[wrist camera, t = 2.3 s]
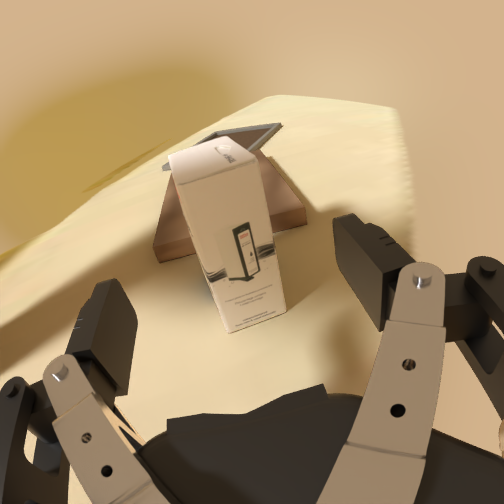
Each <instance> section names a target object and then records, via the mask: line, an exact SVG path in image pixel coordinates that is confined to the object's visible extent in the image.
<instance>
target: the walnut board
mask: <svg viewBox="0 0 504 504" xmlns="http://www.w3.org/2000/svg"><path fill="white" fill-rule="evenodd" d="M250 153H252V154H254V155H255V156H256V158H257V160H258V163H259V168H260V173H261V178H262V183H263V188H264V193H265V198H266V202H267V207H268V212H269V217H270V222H271V227H272V233H274V232H278V231H282V230H286V229H290V228H294V227H298V226H301V225H305V224H307V220H306V212H305V207H304V205H303V204H302V203H301V201H300V200H299V199H298V197H297V196H296V195H295V194H294V192H293V191H292V190H291V188H290V187H289V186H288V184H287V183H286V182H285V181H284V179H283V178H282V177H281V175H280V174H279V173H278V172H277V170H276V169H275V168H274V167H273V165H272V164H271V163H270V162H269V160H268V159H267V158H266V157H265V155H264V154H263V153H262V152H261V150H256V151H251V152H250ZM153 249H154V251H155V254H156V256H157V258H158V261H159V263H161V262H164V261H168V260H172V259H176V258H179V257H183V256H187V255H190V254H194V253H196V251H195V248H194V245H193V242H192V239H191V236H190V232H189V229H188V226H187V223H186V220H185V217H184V214H183V211H182V207H181V204H180V200H179V197H178V194H177V190H176V187H175V183H174V179H173V176H172V173H171V176H170V179H169V183H168V187H167V190H166V194H165V198H164V202H163V206H162V210H161V214H160V218H159V222H158V226H157V231H156V235H155V239H154V244H153Z"/></svg>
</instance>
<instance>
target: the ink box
mask: <svg viewBox="0 0 504 504" xmlns="http://www.w3.org/2000/svg"><path fill="white" fill-rule="evenodd" d="M168 159H169V164H170V168H171V172H172V176H173V179H174V183H175V187H176V190H177V194H178V197H179V200H180V204H181V207H182V211H183V214H184V217H185V220H186V223H187V226H188V229H189V232H190V236H191V239H192V242H193V245H194V248H195V251H196V253H197V256H198V259H199V262H200V264H201V267H202V270H203V273H204V275H205V278H206V281H207V283H208V286H209V288H210V291H211V293H212V296H213V299H214V301H215V304H216V306H217V309H218V311H219V314H220V316H221V319H222V321H223V324H224V326H225V329H226V331H227V332H228V333H232V332H235V331H237V330H240V329H243V328H245V327H248V326H251V325H254V324H256V323H259V322H262V321H264V320H267V319H270V318H272V317H275V316H277V315H280V314H282V313H285V312H286V310H287V309H286V303H285V298H284V293H283V288H282V282H281V277H280V271H279V265H278V260H277V255H276V249H275V244H274V238H273V233H272V227H271V222H270V217H269V212H268V207H267V202H266V198H265V193H264V188H263V183H262V178H261V173H260V168H259V163H258V160H257V158H256V156H255V155H254V154H252V153H250V152H249V151H248V150H246V149H245V148H243V147H242V146H240V145H239V144H237V143H236V142H235V141H233V140H232V139H230V138H229V137H228V136H223V137H220V138H216V139H213V140H210V141H207V142H204V143H201V144H198V145H195V146H193V147H190V148H187V149H184V150H181V151H178V152H176V153H173V154H170V155H169V156H168Z"/></svg>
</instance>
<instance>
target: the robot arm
mask: <svg viewBox="0 0 504 504" xmlns="http://www.w3.org/2000/svg"><path fill="white" fill-rule="evenodd" d="M333 234H334V243H335V254H336V260H337V264H338V267H339V269H340V271H341V273H342V274H343V276H344V277H345V279H346V280H347V282H348V283H349V285H350V287H351V288H352V290H353V291H354V293H355V294H356V296H357V297H358V299H359V300H360V302H361V304H362V305H363V307H364V308H365V310H366V311H367V313H368V315H369V316H370V318H371V319H372V321H373V323H374V324H375V326H376V327H377V329H378V331H379V332H381V331H383V330H384V331H383V335H382V339H381V342H380V346H379V350H378V353H377V356H376V360H375V363H374V366H373V370H372V373H371V376H370V379H369V382H368V385H367V388H366V391H365V394H364V397H362V396H357V395H352V394H340V393H333V394H327V392H326V390H325V387H324V384H320V385H316V386H313V387H310V388H307V389H303V390H300V391H296V392H293V393H289V394H286V395H283V396H281V397H279V398H277V399H275V400H273V401H271V402H269V403H267V404H265V405H263V406H261V407H259V408H257V409H255V410H253V411H250V412H248V413H246V414H206V413H202V414H197V415H191V416H185V417H179V418H172V419H167V431H165V432H163V433H161V434H159V435H157V436H155V437H154V438H152V439H151V440H149V441H148V442H147V443H146V442H145V441H144V440H143V439H142V438H141V436H140V435H139V434H138V433H137V431H136V430H135V429H134V428H133V426H132V425H131V424H130V422H129V421H128V420H127V418H126V417H125V416H124V414H123V413H122V412H121V410H120V409H119V408H118V406H117V405H116V404H115V403H114V401H115V397H117V396H124V395H128V387H129V379H130V371H131V364H132V358H133V351H134V345H135V338H136V332H137V327H138V320H137V315H136V312H135V310H134V308H133V306H132V305H131V303H130V301H129V299H128V297H127V296H126V294H125V292H124V290H123V288H122V286H121V284H120V283H119V281H118V280H117V279H115V278H114V279H110V280H107V281H103V282H100V283H97V284H96V286H95V288H94V291H93V293H92V296H91V298H90V299H88V301H87V302H86V303H85V305H84V306H83V307H82V308H81V310H80V313H79V315H78V318H77V320H78V321H76V323H75V326H74V328H75V329H73V331H72V334H71V337H70V340H69V343H68V346H67V349H66V351H65V354H64V355H61V356H59V357H57V358H55V359H54V360H53V361H51V362H50V363H49V365H48V366H47V367H46V369H45V371H44V374H43V380H40V381H38V382H36V383H34V384H32V385H29V384H28V383H27V382H26V381H25V380H24V379H23V378H22V377H14V378H11V379H10V380H9V381H7V382H6V383H5V384H4V386H3V387H2V389H1V391H0V504H68V485H69V470H70V464H71V466H72V468H73V470H74V472H75V474H76V476H77V478H78V479H79V481H80V483H81V485H82V487H83V488H84V490H85V492H86V494H87V495H88V497H89V499H90V500H91V502H92V504H504V339H503V338H502V337H501V335H500V334H499V333H498V331H497V330H496V329H495V327H494V326H493V325H492V321H494V322H495V323H496V325H497V326H498V327H499V329H500V330H501V331H502V333H503V334H504V265H503V264H502V263H501V262H499V261H498V260H496V259H494V258H491V257H486V256H480V257H475V258H473V259H471V260H470V261H469V262H468V265H467V270H466V273H457V274H446V275H444V273H443V272H442V271H441V269H439V268H438V267H436V266H434V265H432V264H429V263H425V262H416V261H415V260H414V259H413V258H412V257H411V256H410V255H409V254H408V253H407V252H406V251H405V250H404V249H403V248H402V247H401V246H400V245H399V244H398V243H396V241H395V240H394V239H393V238H392V237H390V236H389V234H388V233H387V232H386V231H385V230H383V229H382V228H381V227H379V226H376V225H374V224H372V223H367V224H364V223H363V222H362V221H361V220H360V219H359V218H358V217H357V216H356V215H355V214H353V213H352V214H348V215H344V216H341V217H337V218H334V219H333ZM446 342H455V343H456V345H457V346H458V347H459V349H460V351H461V352H462V354H463V355H464V357H465V359H466V360H467V361H468V363H469V365H470V366H471V368H472V370H473V371H474V373H475V374H476V376H477V378H478V379H479V381H480V383H481V384H482V386H483V388H484V390H485V391H486V393H487V394H488V396H489V398H490V400H491V401H492V403H493V405H494V407H495V409H496V411H497V412H498V414H499V416H500V418H501V420H502V423H501V425H500V428H499V440H500V445H499V446H500V449H501V451H502V457H501V456H499V455H496V454H494V453H491V452H489V451H486V450H483V449H481V448H478V447H476V446H473V445H471V444H468V443H466V442H463V441H461V440H459V439H456V438H454V437H452V436H449V435H447V434H445V433H442V432H440V431H438V430H435V429H433V428H432V425H433V420H434V415H435V410H436V404H437V399H438V393H439V387H440V380H441V373H442V365H443V357H444V347H445V343H446ZM27 429H28V430H29V431H30V432H31V433H32V434H34V435H35V436H36V437H37V441H36V447H35V453H34V460H33V464H32V463H30V462H29V461H28V460H27V459H26V457H25V454H24V444H25V439H26V434H27Z"/></svg>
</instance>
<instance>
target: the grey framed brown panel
mask: <svg viewBox="0 0 504 504" xmlns="http://www.w3.org/2000/svg"><path fill="white" fill-rule="evenodd" d="M281 127H282V125H281V123H273V124H265V125H257V126H249V127H242V128H236V129H229V130H223V131H217V132H214V133H212V134H211V135H209V136H207V137H206V138H204V139H203V140H201V141H200V142H198V143H196V144H195V145H198V144H201V143H204V142H207V141H210V140H213V139H216V138H220V137H223V136H228V137H229V138H230V139H232V140H233V141H235V142H236V143H237V144H239V145H240V146H242V147H243V148H245V149H246V150H248V151H249V152H251V151H256V150H257V149H259V148H260V147H261V146H262V145H263V144H264V143H265V142H266V141H267V140H268V139H269V138H270V137H271V136H272V135H273V134H274V133H275V132H276V131H277V130H278V129H279V128H281ZM195 145H193V146H195ZM193 146H192V147H193ZM162 169H163V171H168V170H171V168H170V164H169V162H168V163H166V164H165V165H163V166H162Z"/></svg>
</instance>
